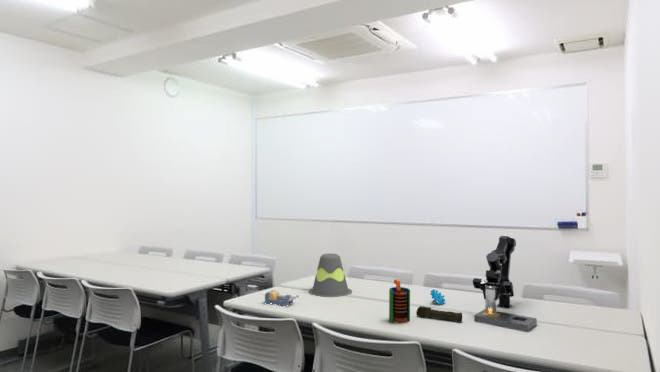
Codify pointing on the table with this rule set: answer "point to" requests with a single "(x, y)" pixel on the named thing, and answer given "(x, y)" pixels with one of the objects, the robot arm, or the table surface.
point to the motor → (399, 303)
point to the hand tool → (438, 314)
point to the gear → (437, 297)
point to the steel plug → (490, 299)
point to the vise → (278, 298)
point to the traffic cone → (330, 278)
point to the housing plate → (506, 320)
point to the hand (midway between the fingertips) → (490, 299)
